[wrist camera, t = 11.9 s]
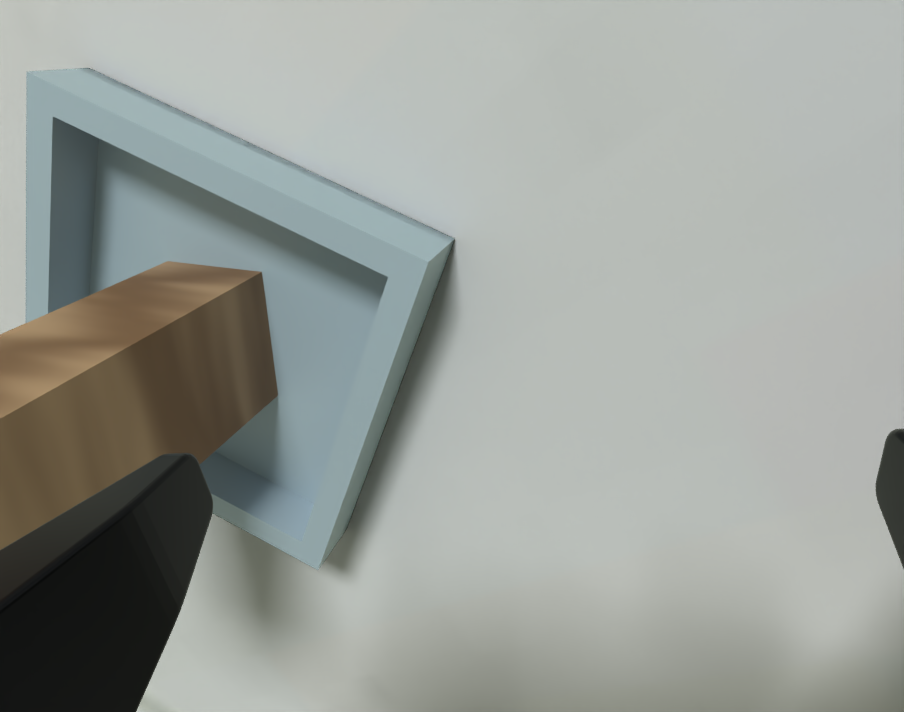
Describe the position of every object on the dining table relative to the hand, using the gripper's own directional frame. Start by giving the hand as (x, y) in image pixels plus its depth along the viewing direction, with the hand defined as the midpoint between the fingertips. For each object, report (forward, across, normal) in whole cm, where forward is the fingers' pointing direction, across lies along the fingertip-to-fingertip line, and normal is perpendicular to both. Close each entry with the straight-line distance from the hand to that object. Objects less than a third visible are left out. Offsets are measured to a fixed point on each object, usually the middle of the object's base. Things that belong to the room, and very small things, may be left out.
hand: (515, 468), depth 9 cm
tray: (+15, +12, +4) cm, 19 cm away
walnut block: (+14, +12, +4) cm, 19 cm away
